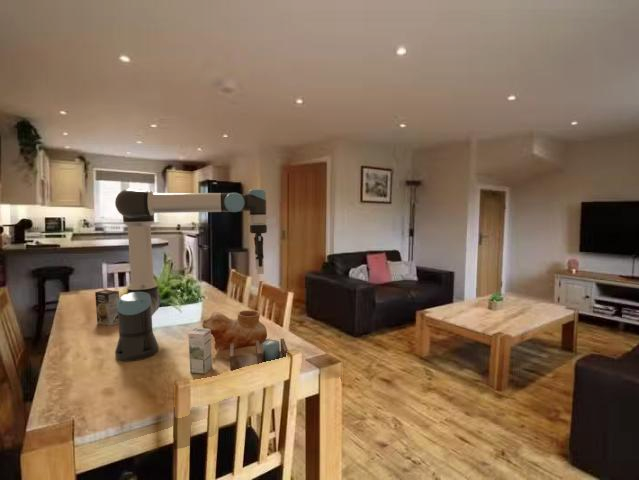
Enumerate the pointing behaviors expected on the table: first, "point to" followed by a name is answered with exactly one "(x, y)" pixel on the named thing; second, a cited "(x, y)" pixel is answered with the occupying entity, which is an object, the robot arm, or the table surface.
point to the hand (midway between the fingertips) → (259, 271)
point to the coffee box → (107, 307)
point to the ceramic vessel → (236, 329)
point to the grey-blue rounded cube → (271, 350)
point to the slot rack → (251, 356)
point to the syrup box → (200, 350)
